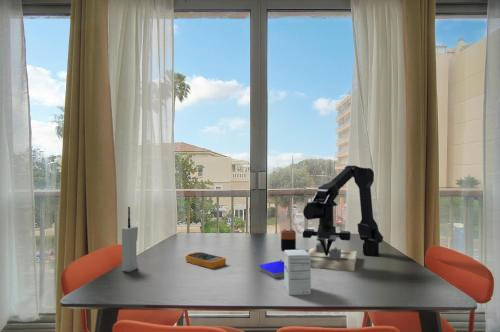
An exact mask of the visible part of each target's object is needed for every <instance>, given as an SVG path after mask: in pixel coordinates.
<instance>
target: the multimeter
mask: <svg viewBox="0 0 500 332" xmlns="http://www.w3.org/2000/svg"><path fill="white" fill-rule="evenodd" d="M226 260H227V258H226V257H223V256H219V255H214V254H211V253H210V254H209V253H205V252H203V251H194V252H189V253H187V254H185V262H186V263H189V264H192V265H196V266H200V267H204V268H206V269H210V270H214V269H217V268H220V267H224V266H225V265H226V262H227V261H226Z"/></svg>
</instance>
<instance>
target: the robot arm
mask: <svg viewBox="0 0 500 332" xmlns="http://www.w3.org/2000/svg"><path fill="white" fill-rule="evenodd" d="M352 178H353V179H354V183H355V184H356V186H357V187H358V192H359V201H360V202H359V203H360V215H361V219H360V221H359V223H357V233H358V235H359V239H360V240H361V241H363V243H362V254H363V255H364V256H370V257H380V252H379V251H380V248H379V247H380V245H379V244H382V243H383V240H384V236H383V234H382V233H381V232H380V231H379V225H378V223H377V222H376V220H375V219H374V213H373V212H374V211H373V201H372V200H373V199H372V190H371V187H372V185H373V183H374V179H375V174H374V170H373V169H372V168H370V167H361V166H357V165H345V167H344V169H343V170H341V171H340V173H338V174H337V175H336V176H335V177H334V178H333V179H331V181H329V182H326V183H324V184H322V185H320V186H318V188H317V189H316V192H315V194H314V196H313V198H312V200H311V201H308V202H307V201H306V205H305V206H304V207H303V211H302V213H303V216H304V218H305V220H316V219H317V220H319V221H318V223H319V224H318V227H317V230H315V229H314V228H305V229H304V230H303V231H302V238H304V239H305V238H306V239H311V238H312V237H316V241H318V242H319V243H321V244H322V247H323V249H324V252H325V255H326V256H328V253H329V250H330V249H331V246H332V244H333V242H334V243H335V242H336V240H337V238H339V240H341V241H350V240H351V239H352V238H351V237H352V236H351V233H352V232H350V231H349V230H340V232H337V230H336V229H337V228H336V226H334V223H335V222H334V217H335V216H334V207H336V206H338V204H337V203H336V202H335V200H336V198H337V197H338V196H339V192H340V190H341V188H343V187H344V185H346V184H347V183H348V182H349V181H350V180H351V179H352ZM326 243H327V245H326Z"/></svg>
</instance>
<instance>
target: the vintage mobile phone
mask: <svg viewBox="0 0 500 332" xmlns="http://www.w3.org/2000/svg"><path fill="white" fill-rule="evenodd" d="M127 216H128V217H127V226H125V227H122V228H121V271H122V272H127V273H129V272H133V271H135V270H138V269H139V263H138V261H137V241H138V232H139V227H138V226H135V225H134V226H132V225H131V208H130V206H128V208H127Z"/></svg>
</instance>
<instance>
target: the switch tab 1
mask: <svg viewBox="0 0 500 332" xmlns="http://www.w3.org/2000/svg"><path fill="white" fill-rule="evenodd" d="M326 245H327V242H326ZM315 248H316V252H323V253H325V252H324V249H323V247H322V244H321V243H320V242H317V244H316V247H315Z"/></svg>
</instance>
